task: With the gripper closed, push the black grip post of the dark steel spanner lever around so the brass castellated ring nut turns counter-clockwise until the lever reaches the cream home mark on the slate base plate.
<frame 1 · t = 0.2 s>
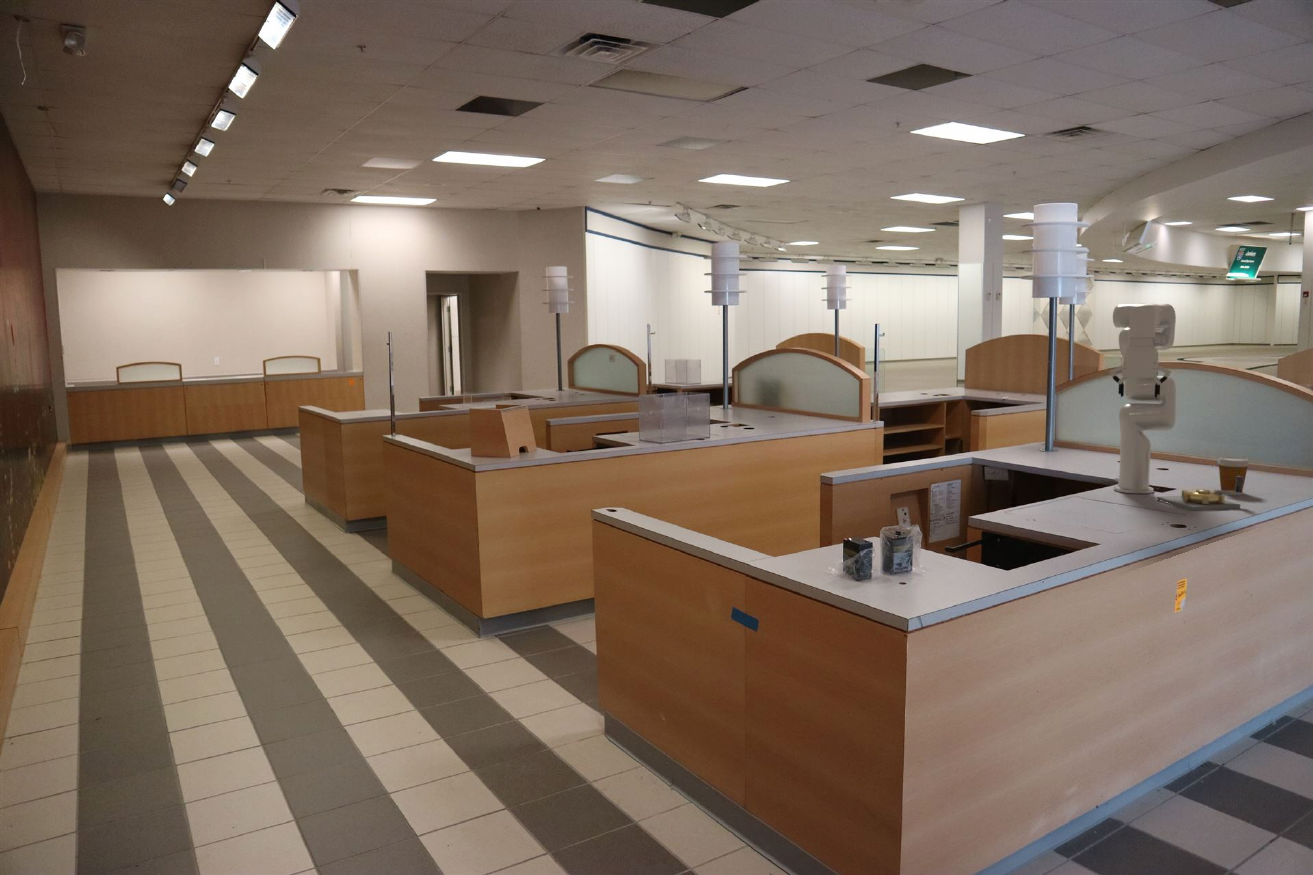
hand: (1138, 396, 288), 37 cm above the worktop, tool pointing down, fingers open, 9 cm apart
disposable coffee cup: (1231, 493, 315), on the worktop
base plate: (1197, 504, 298), on the worktop
ring nut: (1212, 488, 295), point 6 cm above the worktop, hinge at 0.0°
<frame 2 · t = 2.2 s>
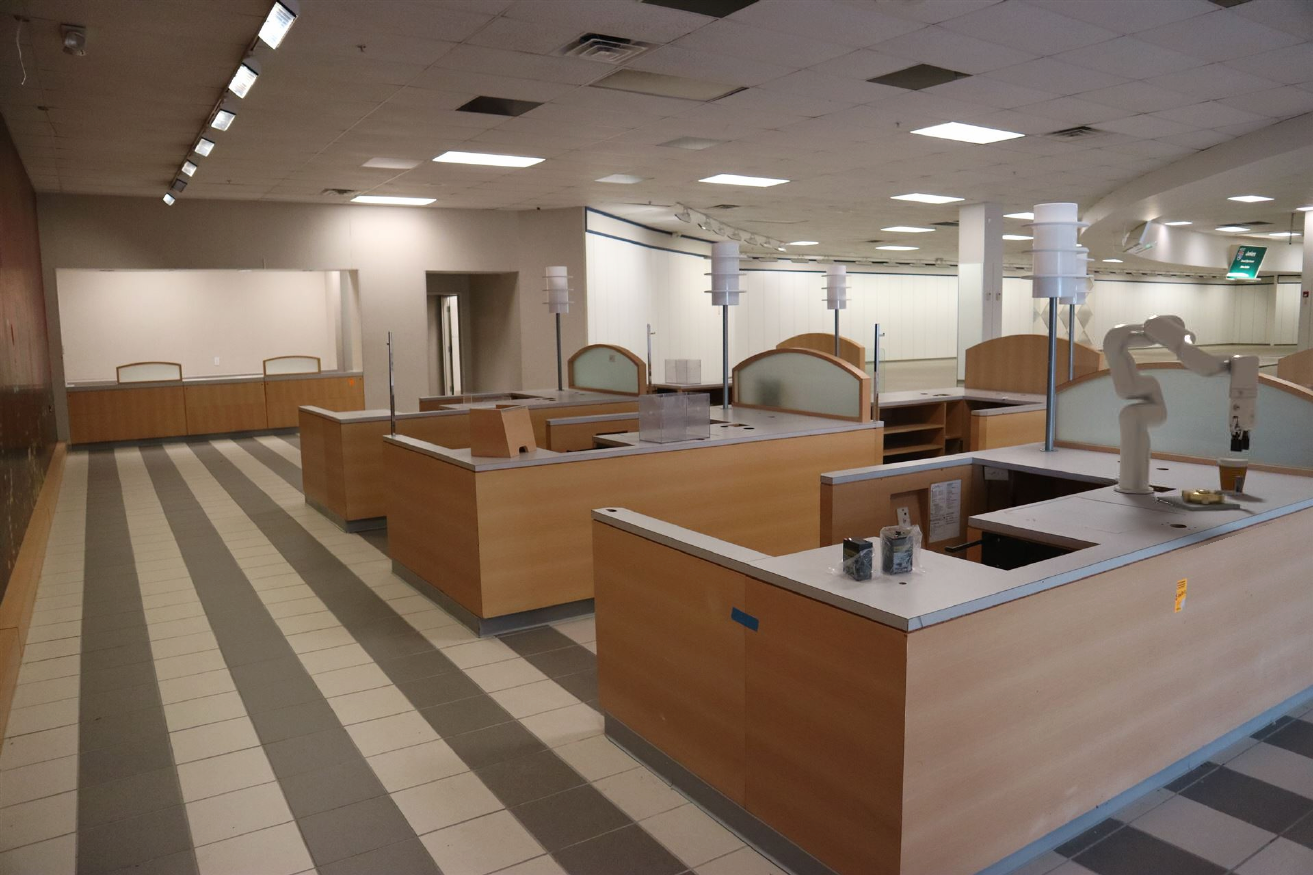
hand: (1239, 449, 286), 19 cm above the worktop, tool pointing down, fingers open, 4 cm apart
nothing on the worktop moved.
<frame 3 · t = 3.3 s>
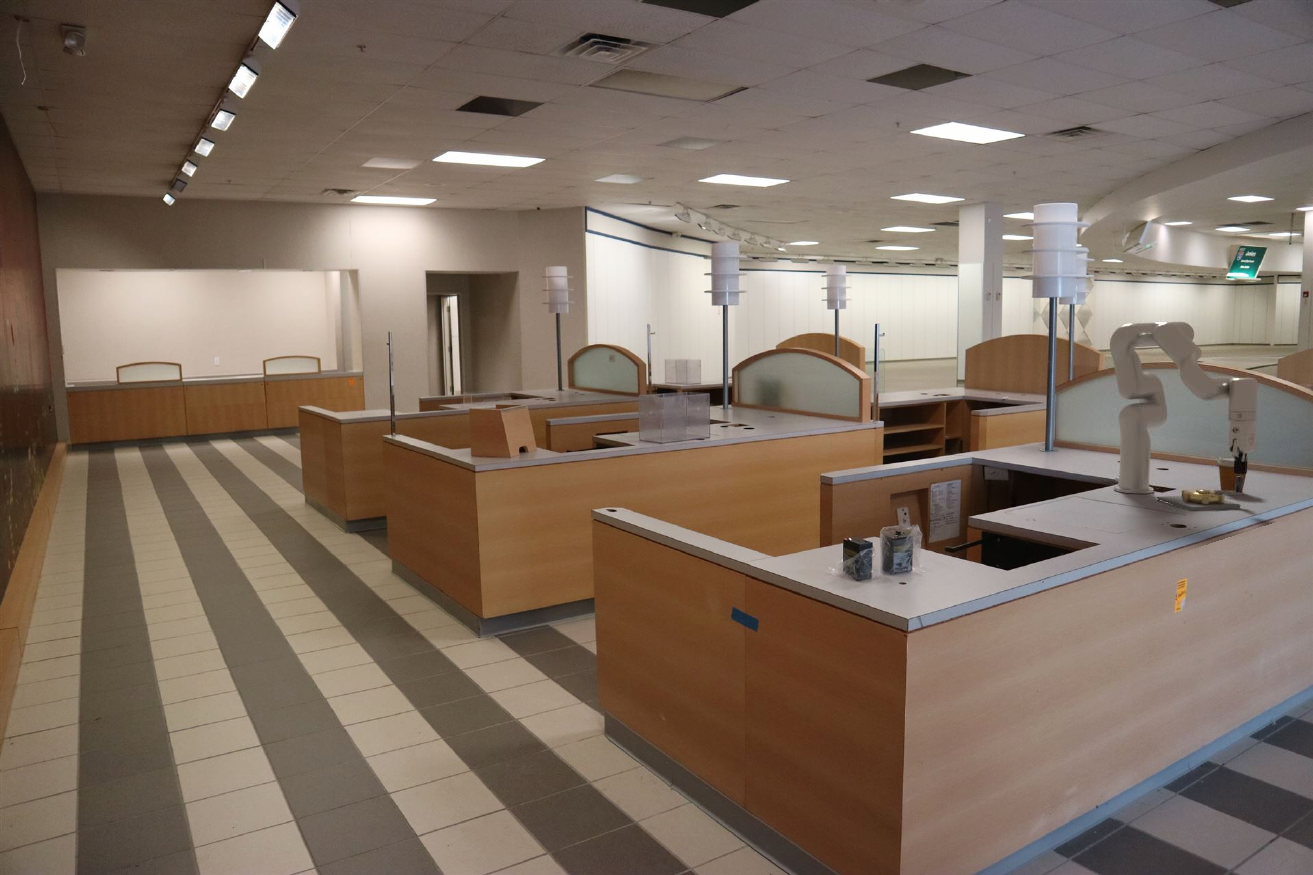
hand: (1240, 473, 287), 12 cm above the worktop, tool pointing down, fingers closed
nothing on the worktop moved.
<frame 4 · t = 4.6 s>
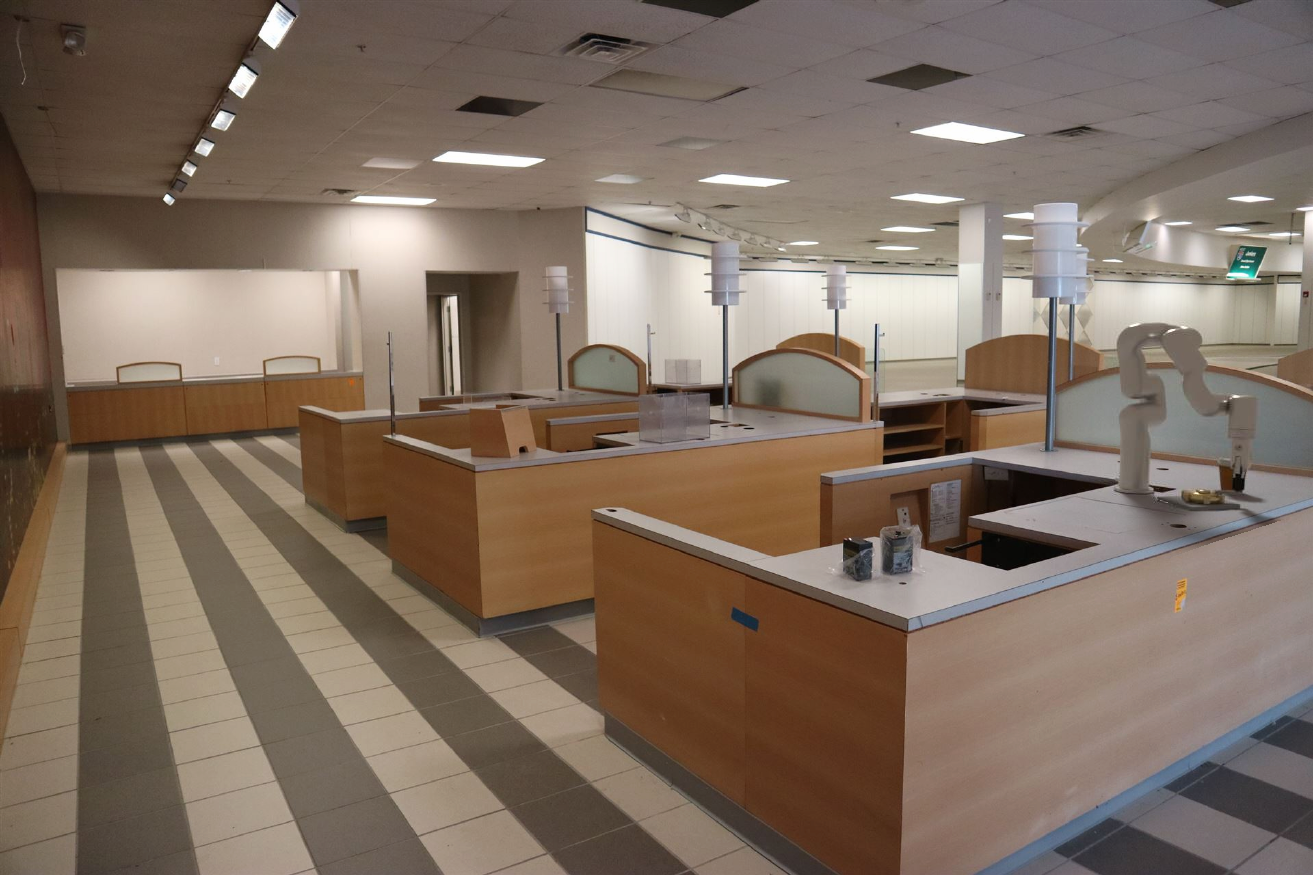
hand: (1238, 489, 290), 6 cm above the worktop, tool pointing down, fingers closed
ring nut: (1212, 488, 295), point 6 cm above the worktop, hinge at 3.8°, touching gripper
everything else where it was.
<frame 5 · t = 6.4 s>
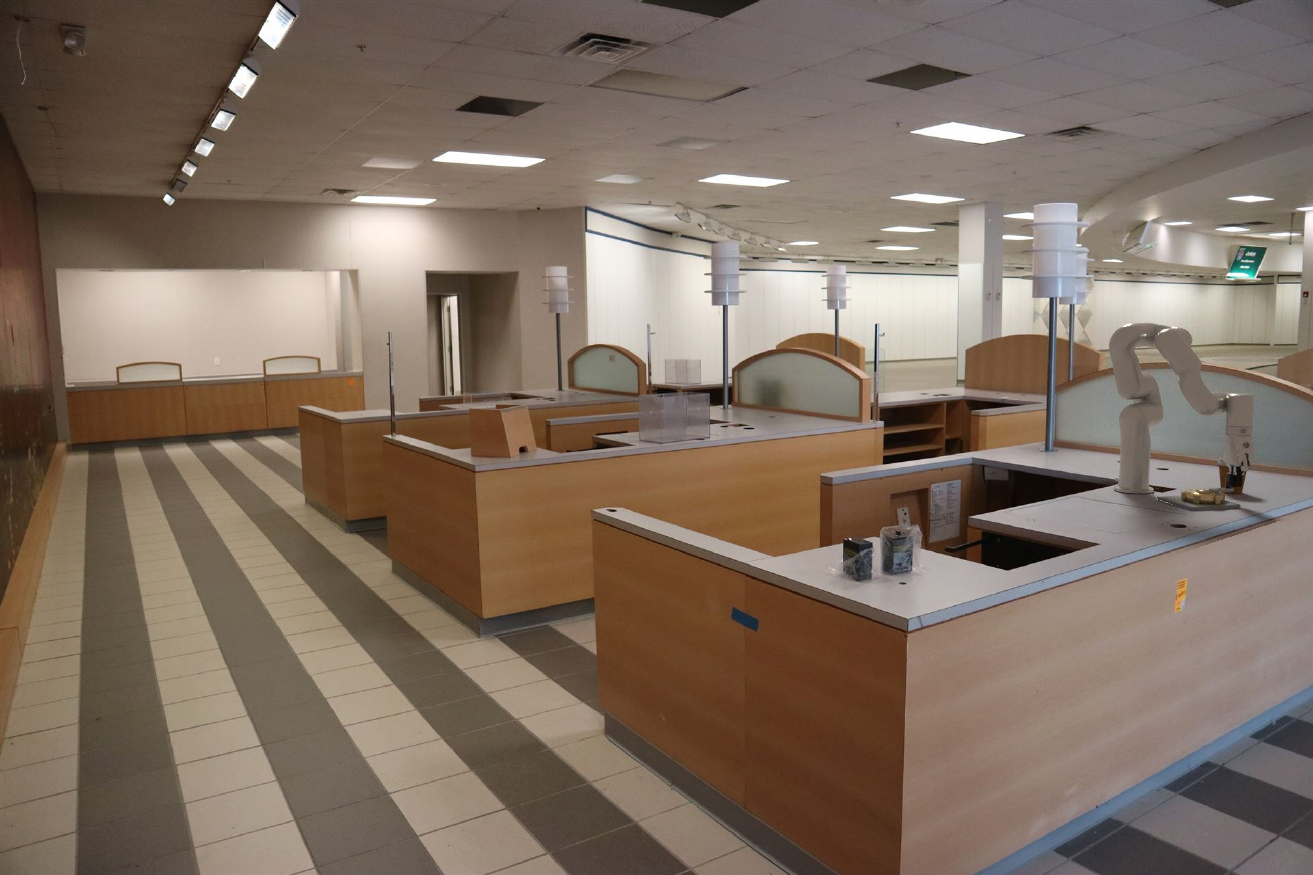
hand: (1235, 486, 295), 6 cm above the worktop, tool pointing down, fingers closed
ring nut: (1209, 487, 297), point 6 cm above the worktop, hinge at 36.4°, touching gripper
everything else where it was.
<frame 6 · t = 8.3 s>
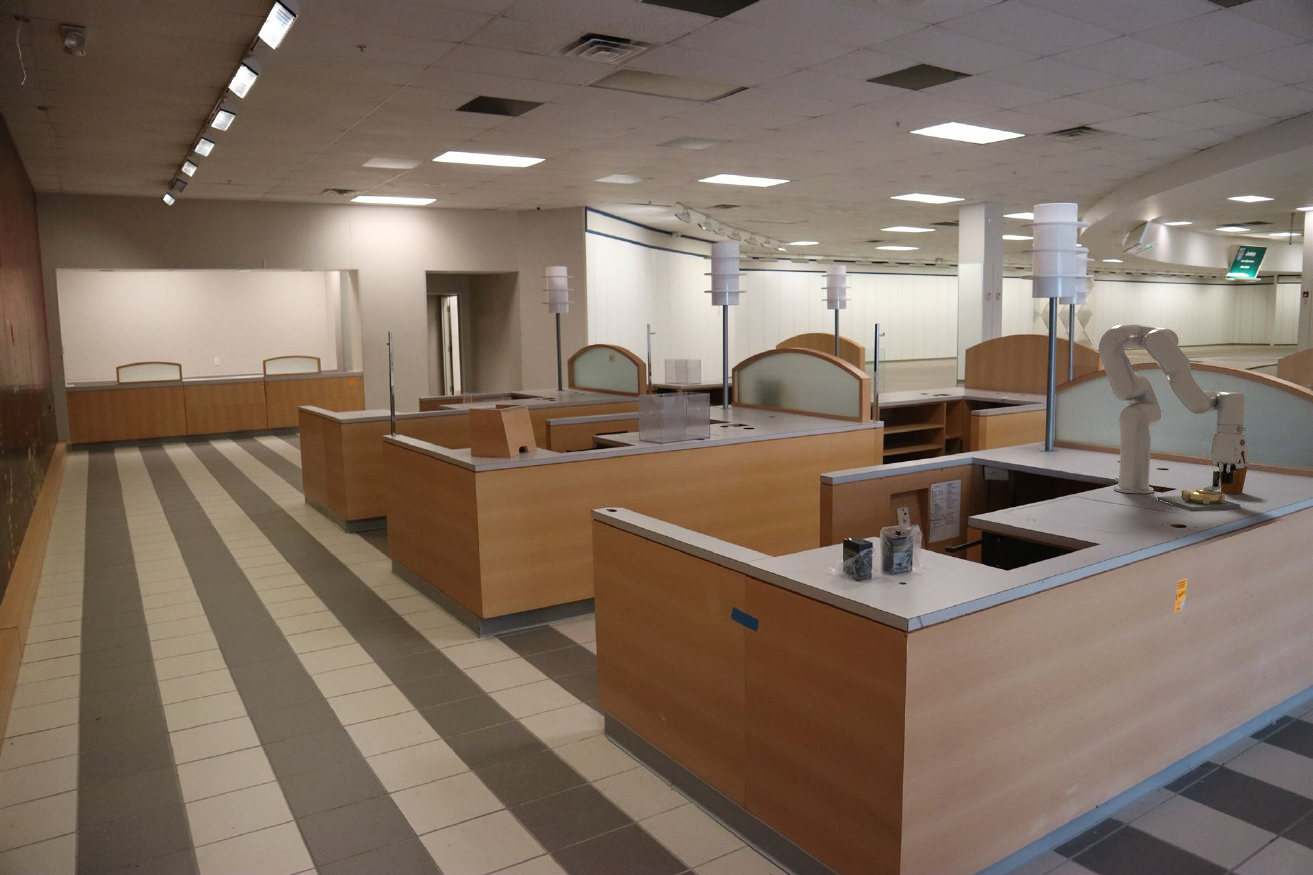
hand: (1226, 483, 299), 6 cm above the worktop, tool pointing down, fingers closed
ring nut: (1206, 486, 298), point 6 cm above the worktop, hinge at 61.6°, touching gripper
everything else where it was.
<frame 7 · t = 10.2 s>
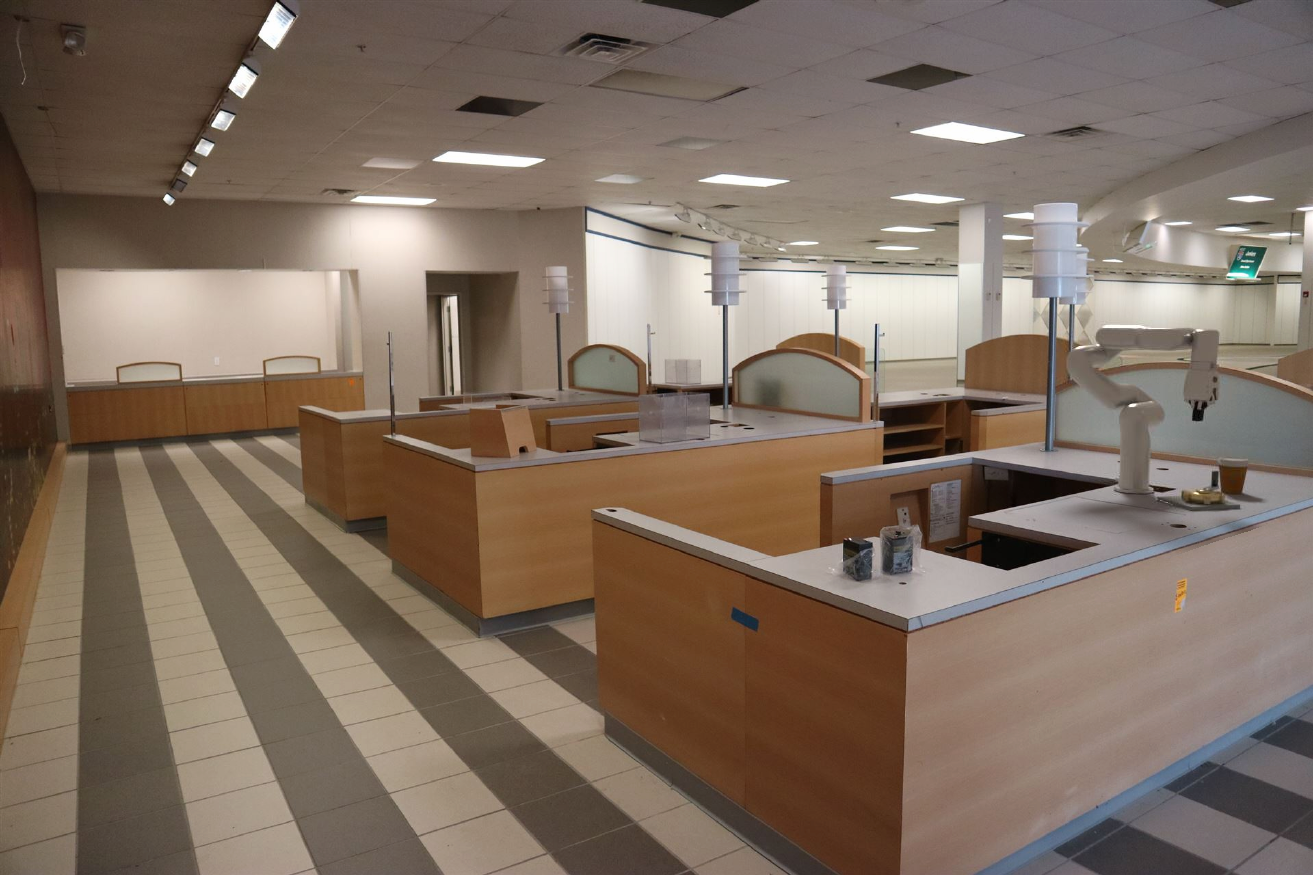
hand: (1197, 420, 301), 27 cm above the worktop, tool pointing down, fingers closed
ring nut: (1206, 486, 298), point 6 cm above the worktop, hinge at 63.9°
everything else where it was.
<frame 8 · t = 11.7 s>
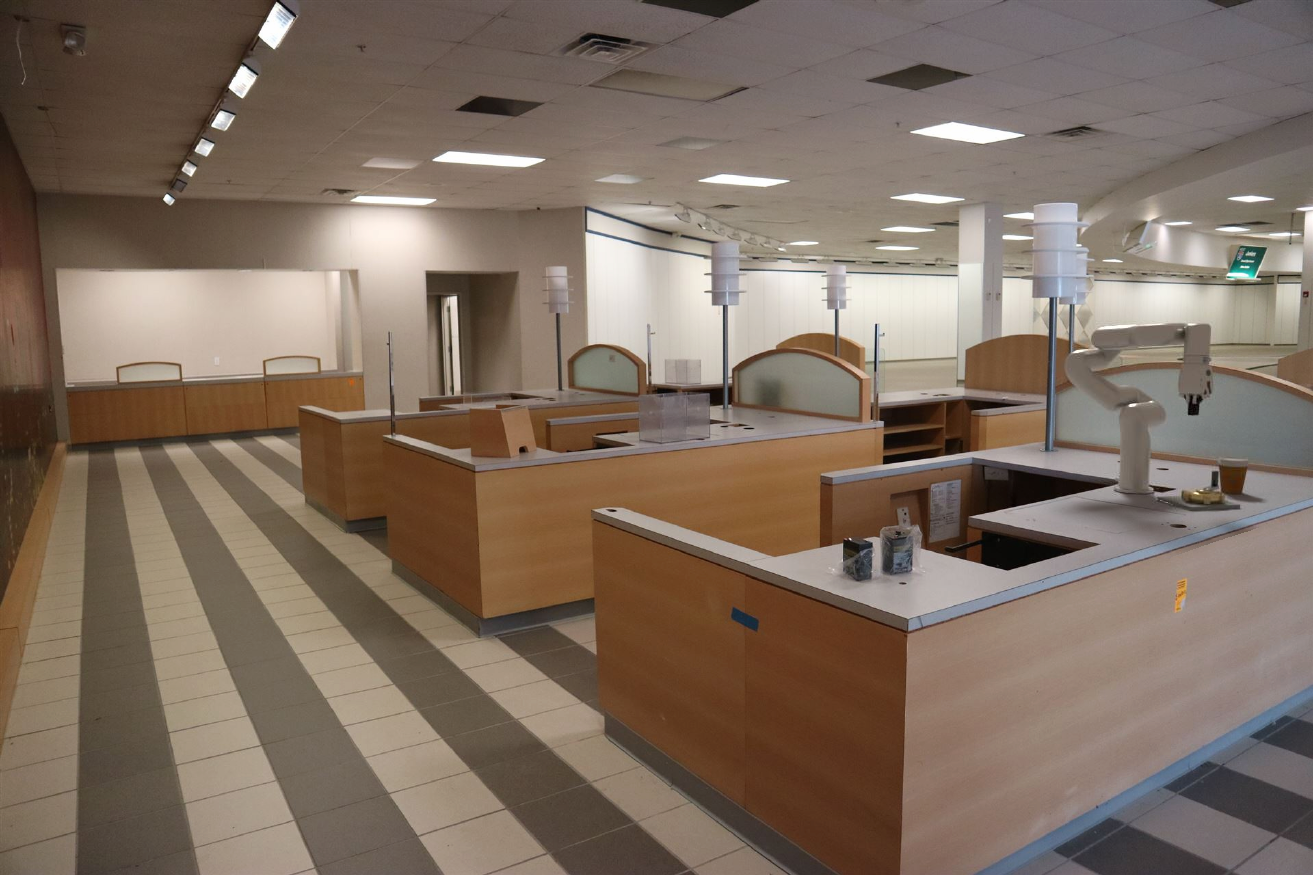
hand: (1193, 415, 301), 29 cm above the worktop, tool pointing down, fingers closed
nothing on the worktop moved.
at the end: ring nut at +64° (first picture: +0°); disposable coffee cup moved 0.2 cm from its start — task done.
